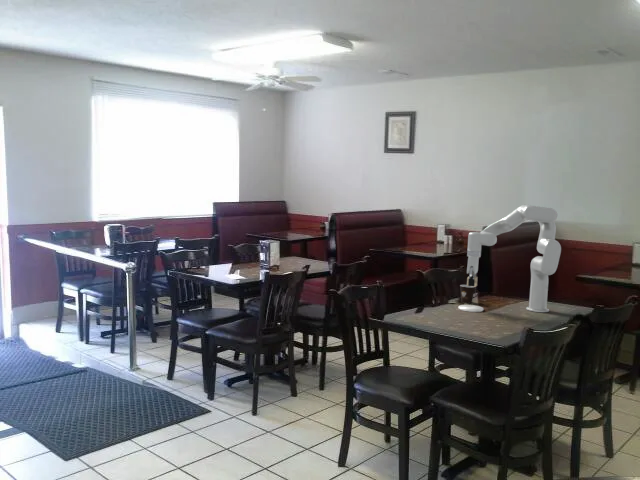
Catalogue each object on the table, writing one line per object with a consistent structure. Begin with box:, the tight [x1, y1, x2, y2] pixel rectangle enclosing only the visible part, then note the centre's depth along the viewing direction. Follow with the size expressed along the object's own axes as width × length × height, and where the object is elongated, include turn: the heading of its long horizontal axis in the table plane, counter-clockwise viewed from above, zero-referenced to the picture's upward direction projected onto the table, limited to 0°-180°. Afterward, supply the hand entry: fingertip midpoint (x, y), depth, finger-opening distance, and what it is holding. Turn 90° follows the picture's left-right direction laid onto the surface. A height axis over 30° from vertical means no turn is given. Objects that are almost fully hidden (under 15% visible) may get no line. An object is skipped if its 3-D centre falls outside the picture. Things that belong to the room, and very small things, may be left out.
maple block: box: [466, 276, 479, 288], centre depth 333 cm, size 5×5×5 cm
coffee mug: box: [459, 284, 480, 304], centre depth 354 cm, size 12×9×10 cm
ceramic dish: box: [457, 304, 484, 313], centre depth 334 cm, size 14×14×1 cm
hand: (472, 284), depth 333 cm, fingers closed on maple block, 4 cm apart
